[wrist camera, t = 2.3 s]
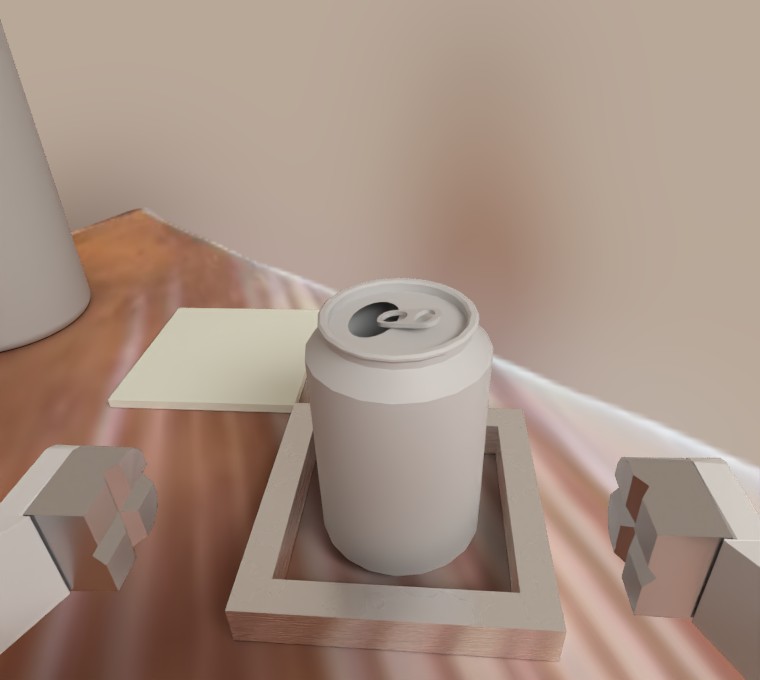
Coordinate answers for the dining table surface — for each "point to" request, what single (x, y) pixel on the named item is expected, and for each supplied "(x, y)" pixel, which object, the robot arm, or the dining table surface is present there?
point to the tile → (222, 362)
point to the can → (399, 422)
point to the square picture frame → (401, 603)
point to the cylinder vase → (31, 228)
